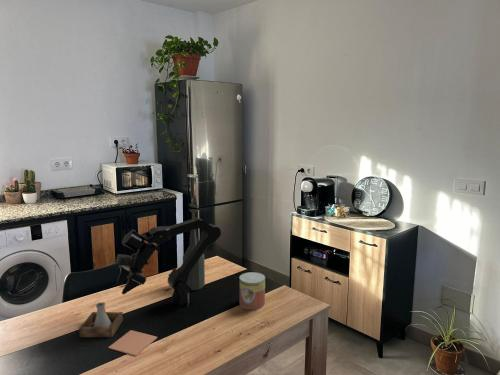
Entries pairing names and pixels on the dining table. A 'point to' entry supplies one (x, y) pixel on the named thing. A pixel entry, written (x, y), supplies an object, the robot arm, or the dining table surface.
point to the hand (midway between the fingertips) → (119, 289)
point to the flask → (101, 317)
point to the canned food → (252, 290)
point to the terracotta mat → (133, 343)
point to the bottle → (198, 272)
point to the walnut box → (101, 331)
